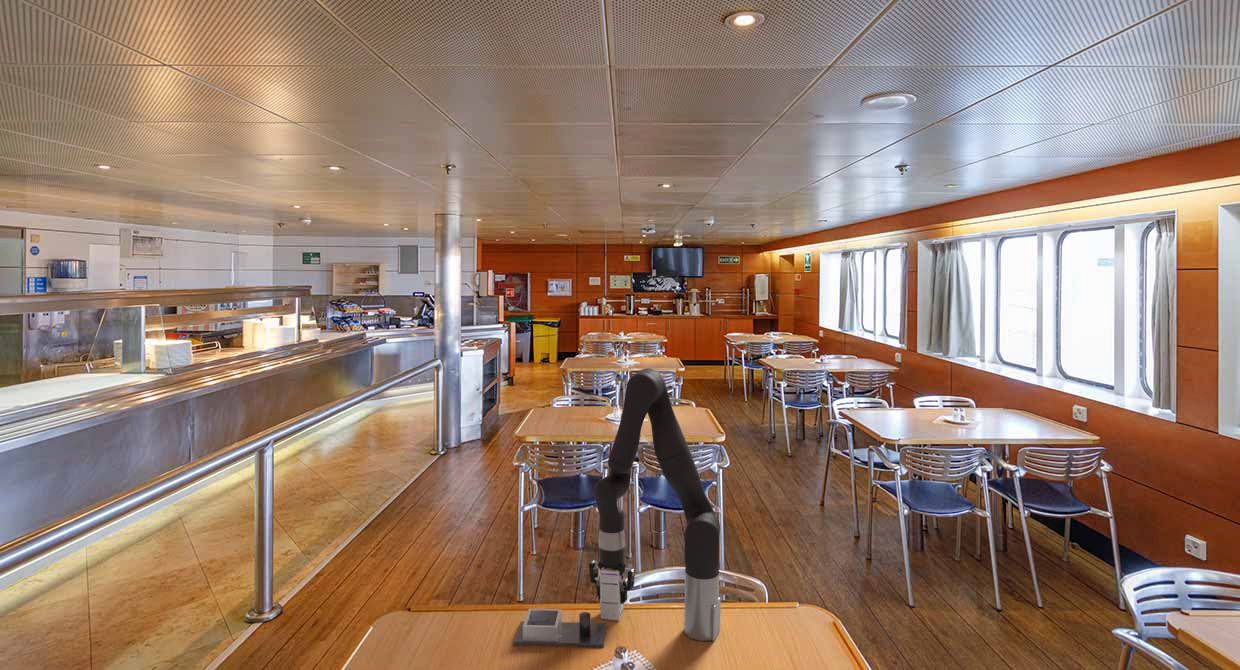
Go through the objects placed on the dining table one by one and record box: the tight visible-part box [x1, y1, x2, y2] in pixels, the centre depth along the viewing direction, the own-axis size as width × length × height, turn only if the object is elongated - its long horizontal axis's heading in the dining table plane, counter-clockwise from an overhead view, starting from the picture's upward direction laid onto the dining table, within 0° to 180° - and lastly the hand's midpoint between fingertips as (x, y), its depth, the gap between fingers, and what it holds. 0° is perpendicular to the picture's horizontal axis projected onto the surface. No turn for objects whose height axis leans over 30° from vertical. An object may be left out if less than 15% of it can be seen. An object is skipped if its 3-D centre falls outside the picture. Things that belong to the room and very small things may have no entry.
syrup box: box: [599, 567, 625, 621], centre depth 180 cm, size 6×6×14 cm
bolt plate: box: [513, 608, 607, 648], centre depth 171 cm, size 24×10×6 cm, turn 88°
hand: (611, 599), depth 181 cm, fingers closed on syrup box, 6 cm apart
